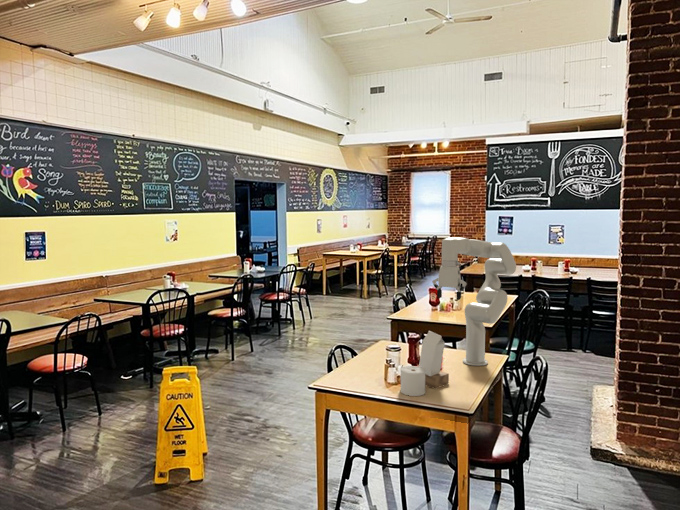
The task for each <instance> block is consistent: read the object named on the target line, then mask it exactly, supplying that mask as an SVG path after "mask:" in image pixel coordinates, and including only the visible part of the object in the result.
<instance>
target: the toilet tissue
mask: <svg viewBox="0 0 680 510" xmlns="http://www.w3.org/2000/svg"><path fill="white" fill-rule="evenodd" d="M425 371H426V370H425V369H424V368H422V367H419V366H414V365H408V366H404V365H403V364H402V365H401V366H400V393H401V394H402V395H405V396H408V395H409V396H410V397H421V396H423V395H425V394H426V386H425Z"/></svg>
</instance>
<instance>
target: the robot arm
mask: <svg viewBox="0 0 680 510" xmlns="http://www.w3.org/2000/svg"><path fill="white" fill-rule="evenodd" d="M458 255H464V256H469V257H480V258H483V259H484V258H486V260H485V263H484V271H485V274H484V275H485V280H484V282H483V284H482V286H480V288H479V291H478V292H477V293H476V296H475V298H476V299H475V300H476V302H469V303H467V305H466V306H465V307H464V318H465V325H466V326H465V328H466V329H465V330H466V331H465V332H466V333H465V334H466V335H465V357H464V358H463V359H462V363H463V364H465V365H469V366H475V367H482V366H486V365H488V362H489V361H488V360H487V359H485V357H486V356H485V355H486V349H485V348H486V328H485V325H484V324H489V325H490V324H491V325H492V324H493V325H494V324H495V323H496V322H497V321H498V320H499V319H500V316H501V315H502V312H504V309H505V308H506V306H507V304H508V293H507V292H506V291H505V290H503V289H500V288H501V287H502V284H501V280H500V278H499V276H498V275H504V276H505V275H507V276H511V275H513V274H515V272H516V270H517V264H516V261H515V258H514V256H513V253H512V252H511V249H510V248H509V246H508V245H507V244H506V243H504V242H492V241H485V240H480V239H469V238H466V237H455V236H454V237H451V236H450V237H447V238H443V239H442V241H441V266H440V267H439V271H438V277H437V278H434V279H433V280H431V281H432V284H433V287H434V288H435V289H436V290H437V293H436V295H437V298H438V299H441V298H443V297H442V296H443V295H442V294H443V292H442V290H443V289H442V288H453V289H456V300H457V301H460V300H461V298H462V291H463V290H465V289H466V286H467V285H468V283H467V282H466V281H464V280H462V278H461V270H460V265H461V262H460V261H458V259H459V258H458ZM437 282H438V284H437ZM461 284H462V285H461Z"/></svg>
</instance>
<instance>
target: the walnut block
mask: <svg viewBox="0 0 680 510" xmlns="http://www.w3.org/2000/svg"><path fill="white" fill-rule="evenodd" d="M449 375H450V373H448V372H445V371H441V370H440V373H438V374H435V375H433V376H428V375H426V374H425V387H428V386H429V387H428V388H432V389H438V388H441V387H443V385H444V386H446V385H449V384H448V383H449V380H450V378H449Z"/></svg>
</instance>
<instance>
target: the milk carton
mask: <svg viewBox="0 0 680 510" xmlns="http://www.w3.org/2000/svg"><path fill="white" fill-rule="evenodd" d="M445 343H446V342H445V341H444V340H443V338H442V335H440V334H438V333H436V332H433V331H431V330H428V332H427V334H426V335H425V337H424V338H423V340H422V343H421V349H420V359H419V363H418V367H422V368H424V369H425V370H426V371H425V374H426V375H428V376H433V375H435V374H438V373H440V371H441V367H442V363H443V362H442V360H443V354H444V350H445Z"/></svg>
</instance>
